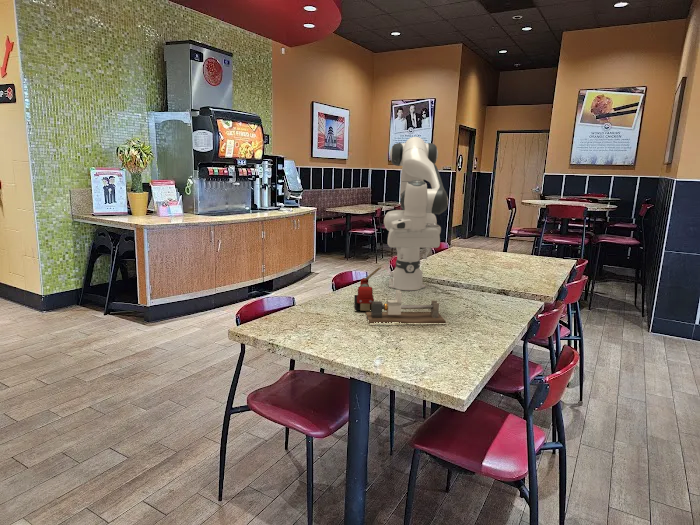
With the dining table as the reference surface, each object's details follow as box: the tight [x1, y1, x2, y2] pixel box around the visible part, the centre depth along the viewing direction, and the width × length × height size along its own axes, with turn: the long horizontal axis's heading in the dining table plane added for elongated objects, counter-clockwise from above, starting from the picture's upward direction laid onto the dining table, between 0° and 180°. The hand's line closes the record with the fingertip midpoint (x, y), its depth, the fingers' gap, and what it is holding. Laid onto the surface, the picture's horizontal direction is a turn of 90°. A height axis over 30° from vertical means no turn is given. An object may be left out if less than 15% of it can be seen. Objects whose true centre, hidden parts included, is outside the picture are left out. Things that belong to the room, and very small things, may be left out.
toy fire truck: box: [353, 266, 382, 312], centre depth 198 cm, size 11×16×18 cm
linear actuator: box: [365, 300, 447, 324], centre depth 184 cm, size 12×30×8 cm, turn 95°
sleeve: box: [386, 289, 403, 315], centre depth 183 cm, size 4×5×9 cm
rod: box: [370, 300, 433, 318], centre depth 184 cm, size 4×26×6 cm, turn 95°
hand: (412, 258), depth 180 cm, fingers open, 8 cm apart
